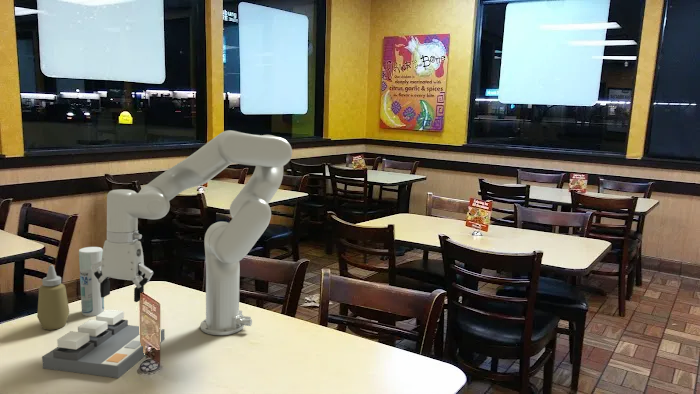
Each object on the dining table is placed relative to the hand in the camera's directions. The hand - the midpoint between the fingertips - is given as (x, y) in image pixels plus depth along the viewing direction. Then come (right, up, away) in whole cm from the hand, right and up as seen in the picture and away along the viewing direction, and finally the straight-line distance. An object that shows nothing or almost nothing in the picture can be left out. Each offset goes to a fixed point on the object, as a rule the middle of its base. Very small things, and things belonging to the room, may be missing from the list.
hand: (121, 298), depth 144 cm
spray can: (-18, -8, +21) cm, 28 cm away
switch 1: (-6, -9, -12) cm, 17 cm away
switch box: (-2, -13, -5) cm, 14 cm away
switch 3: (-4, -7, +2) cm, 8 cm away
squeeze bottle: (-24, -10, +10) cm, 27 cm away
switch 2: (-5, -8, -5) cm, 11 cm away
